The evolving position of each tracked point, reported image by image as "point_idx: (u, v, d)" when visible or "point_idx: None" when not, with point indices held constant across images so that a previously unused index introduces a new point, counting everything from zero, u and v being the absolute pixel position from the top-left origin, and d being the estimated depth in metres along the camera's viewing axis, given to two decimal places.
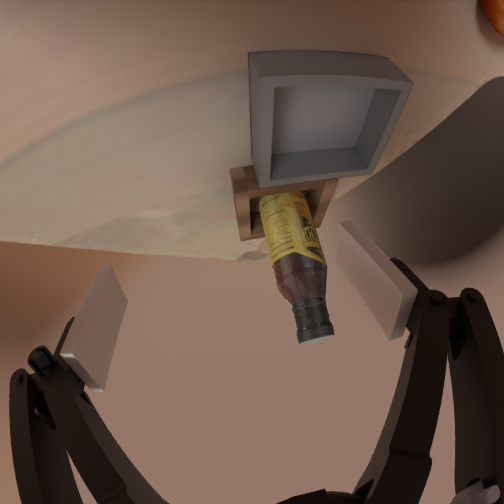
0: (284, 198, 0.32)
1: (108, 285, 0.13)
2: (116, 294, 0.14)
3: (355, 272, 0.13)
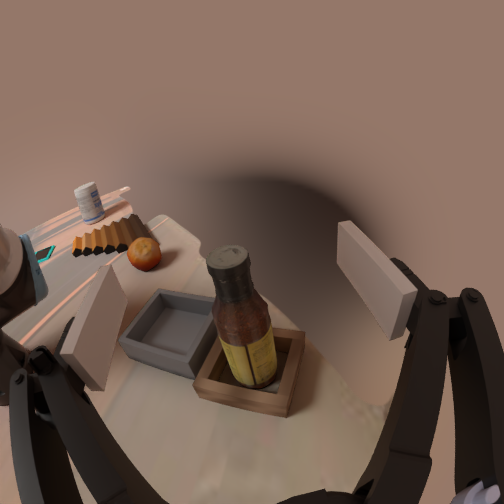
0: None
1: (108, 285, 0.13)
2: (116, 294, 0.14)
3: (355, 272, 0.13)
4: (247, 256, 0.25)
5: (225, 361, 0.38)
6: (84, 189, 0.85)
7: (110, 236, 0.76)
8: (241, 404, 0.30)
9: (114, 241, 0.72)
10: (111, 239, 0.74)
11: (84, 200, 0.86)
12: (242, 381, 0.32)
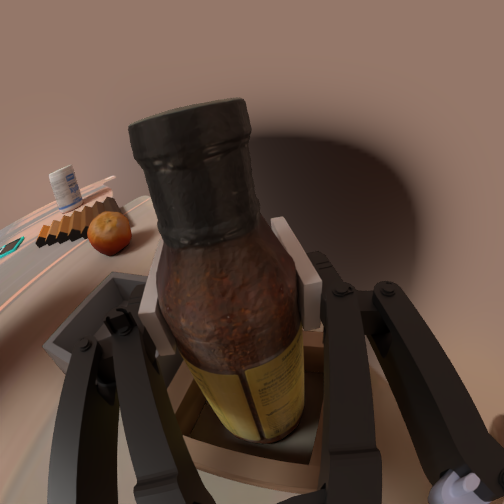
0: None
1: None
2: None
3: None
4: (242, 100, 0.08)
5: None
6: (58, 171, 0.68)
7: (79, 221, 0.58)
8: (235, 478, 0.12)
9: (81, 225, 0.55)
10: (79, 224, 0.56)
11: (58, 184, 0.70)
12: (237, 434, 0.15)
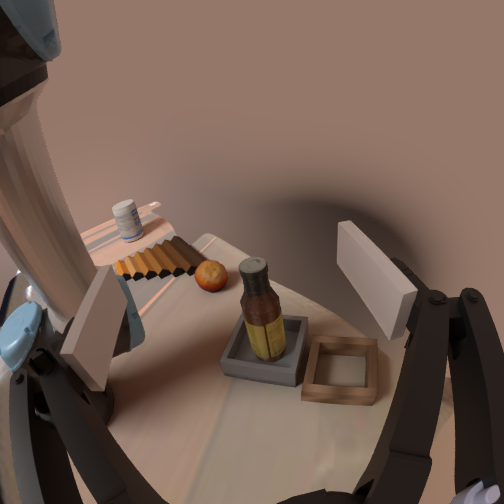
0: None
1: (108, 285, 0.13)
2: (116, 294, 0.14)
3: (355, 272, 0.13)
4: (266, 264, 0.38)
5: (316, 368, 0.44)
6: (124, 207, 0.93)
7: (159, 259, 0.81)
8: (339, 400, 0.37)
9: (167, 265, 0.78)
10: (162, 263, 0.79)
11: (124, 218, 0.94)
12: (260, 355, 0.46)
